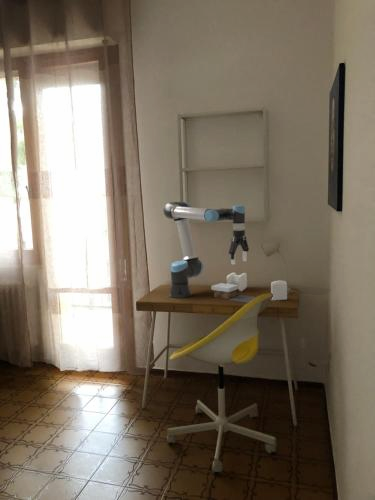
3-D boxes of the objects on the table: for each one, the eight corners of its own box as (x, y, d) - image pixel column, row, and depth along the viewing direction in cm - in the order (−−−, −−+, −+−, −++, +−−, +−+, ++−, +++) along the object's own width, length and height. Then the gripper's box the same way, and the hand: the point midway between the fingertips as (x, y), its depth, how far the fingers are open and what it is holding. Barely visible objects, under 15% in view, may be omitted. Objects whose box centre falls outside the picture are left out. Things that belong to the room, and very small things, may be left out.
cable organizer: (240, 292, 285) (240, 276, 283) (226, 291, 289) (225, 275, 288) (247, 288, 298) (246, 272, 297) (233, 287, 303) (233, 271, 301)
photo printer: (272, 300, 260) (272, 281, 258) (270, 299, 264) (270, 280, 262) (288, 300, 260) (288, 280, 259) (285, 298, 265) (285, 279, 263)
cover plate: (211, 289, 275) (211, 286, 274) (220, 286, 283) (220, 283, 283) (229, 292, 266) (228, 288, 266) (238, 288, 274) (238, 285, 274)
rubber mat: (229, 300, 265) (229, 299, 265) (240, 295, 275) (240, 295, 275) (250, 303, 255) (250, 302, 255) (262, 298, 265) (262, 298, 265)
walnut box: (214, 296, 276) (214, 289, 275) (221, 294, 282) (220, 287, 281) (229, 299, 268) (229, 291, 268) (235, 296, 274) (235, 289, 274)
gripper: (233, 231, 250) (233, 266, 253) (254, 228, 269) (254, 260, 272) (223, 231, 255) (223, 265, 258) (244, 228, 274) (244, 259, 277)
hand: (239, 262), depth 265 cm, fingers open, 13 cm apart
